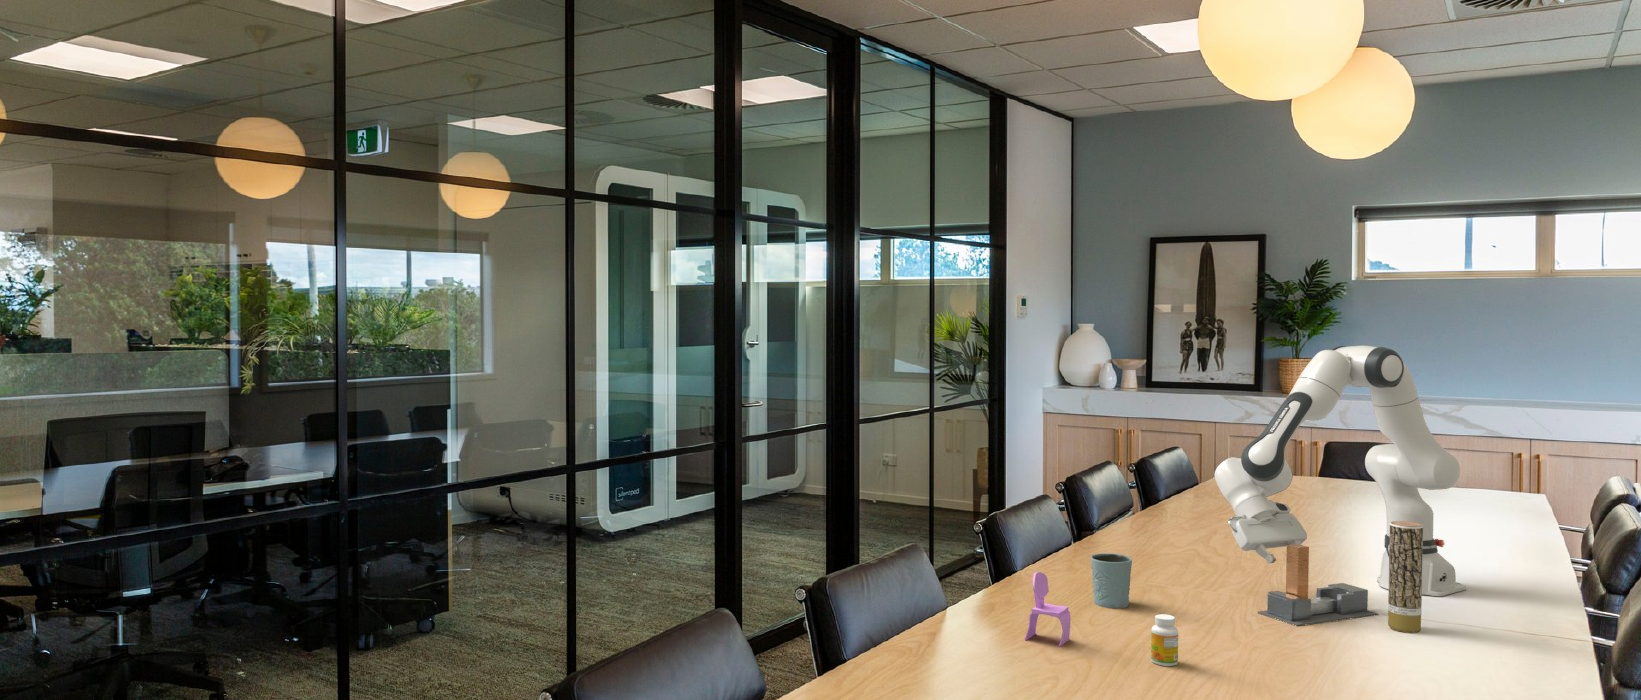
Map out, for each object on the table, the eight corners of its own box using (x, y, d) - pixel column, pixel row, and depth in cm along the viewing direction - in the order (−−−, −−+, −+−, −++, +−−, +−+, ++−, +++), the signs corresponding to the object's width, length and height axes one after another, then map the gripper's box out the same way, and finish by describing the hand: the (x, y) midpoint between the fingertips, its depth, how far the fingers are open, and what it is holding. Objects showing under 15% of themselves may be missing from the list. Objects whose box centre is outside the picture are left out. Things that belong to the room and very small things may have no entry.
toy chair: (1060, 648, 226) (1061, 580, 226) (1022, 641, 231) (1023, 575, 230) (1072, 638, 233) (1073, 573, 233) (1035, 632, 238) (1036, 568, 237)
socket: (1286, 611, 256) (1286, 589, 256) (1310, 619, 249) (1311, 596, 249) (1267, 613, 253) (1267, 591, 253) (1291, 621, 246) (1291, 599, 246)
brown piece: (1325, 607, 258) (1326, 541, 258) (1337, 611, 255) (1338, 543, 254) (1280, 613, 252) (1281, 545, 252) (1291, 617, 249) (1292, 548, 249)
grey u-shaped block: (1342, 603, 263) (1342, 582, 263) (1367, 611, 256) (1367, 589, 256) (1316, 607, 259) (1316, 586, 259) (1341, 614, 253) (1341, 593, 252)
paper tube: (1425, 634, 238) (1427, 527, 238) (1393, 632, 240) (1395, 525, 239) (1414, 626, 245) (1416, 521, 244) (1383, 624, 246) (1385, 520, 246)
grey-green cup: (1134, 601, 265) (1134, 555, 265) (1128, 611, 256) (1128, 563, 256) (1094, 597, 269) (1094, 551, 269) (1087, 606, 260) (1087, 559, 260)
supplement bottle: (1146, 658, 219) (1147, 613, 219) (1171, 658, 220) (1171, 612, 219) (1157, 666, 214) (1157, 620, 214) (1182, 666, 214) (1182, 620, 214)
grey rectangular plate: (1337, 602, 265) (1337, 601, 265) (1378, 614, 254) (1378, 613, 254) (1257, 613, 255) (1257, 611, 255) (1296, 626, 244) (1296, 624, 244)
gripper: (1232, 510, 258) (1262, 556, 249) (1292, 504, 266) (1324, 549, 257) (1218, 524, 262) (1247, 571, 253) (1278, 518, 270) (1309, 563, 261)
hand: (1286, 560), depth 255 cm, fingers open, 8 cm apart
